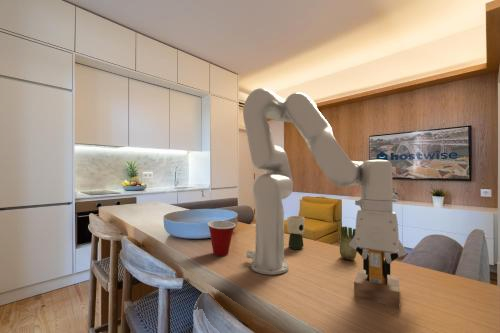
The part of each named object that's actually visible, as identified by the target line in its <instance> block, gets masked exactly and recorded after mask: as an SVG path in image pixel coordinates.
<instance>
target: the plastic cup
mask: <svg viewBox="0 0 500 333" xmlns="http://www.w3.org/2000/svg"><path fill="white" fill-rule="evenodd" d="M207 226H208V228H209V233H210V243H211V246H212V254H213V255H214V256H216V257H225V256H228V255H229V253H230V246H231V241H232V236H233V231H234V228H235V227H236V223H235V222H232V221H227V220H212V221H209V222H207Z"/></svg>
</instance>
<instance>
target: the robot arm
mask: <svg viewBox="0 0 500 333" xmlns="http://www.w3.org/2000/svg"><path fill="white" fill-rule="evenodd" d="M242 117H243V122H244V126H245V131H246V135H247V142H248V148H249V152H250V158H251V163H252V164H253V166H254V168H256V169H257V170H261V171H266V173H263V174H261V175H259V176H258V177H257V178H256V179H255V181H254V183H253V189H252V190H253V198H254V205H255V250H252V249H248V250H247V251H246V255H245V257H246V258H248V259H252V261H251V262H250V268H251V270H252V271H254V272H255V273H258V274H262V275H270V276H272V275H273V276H274V275H281V274H282V275H283V274H284V273H286V272H287V271H288V270H289V263H288V262H287V261H285V211H284V206H283V200H284V199H288V197H290V195H291V194H292V193H293V191H294V190H293V189H294V181H293V180H294V179H293V176H292V172H291V167H290V163H289V162H290V161H289V158H288V154H287V153H286V151H285V150H284V149H283V148H282V147H281V146H280V145H276V144H275V142H274V140H273V139H274V138H273V136H272V130H271V127H270V125H269V122H268V120H267V119H269V120H272V121H273V120H274V121H277V122H285V123H292V124H293V126H294V127H295V128H296V130H297V131H298V133H299V134H300V135H301V137H302V138H303V140H304V141H305V143H306V144H307V148H308V149H309V151H310V153H311V155H312V157H313V158H314V160H315V161H316V164H317V165H318V167H319V168H320V169H321V171H322V172H323V174H324V175H325V176H326V178H327V179H328V180H329V182H331V183H332V184H333V185H335V186H336V187H339V188H341V187H342V188H345V187H350V186H360V199H358V200H357V199H356V200H355V201H354V202H355V203H354V204H355V206H359V208H360V209H359V208H358V209H357V213H356V219H355V227H354V229H355V236H354V238H353V239H352V240H351V242H350V243H349V245H350V246H351V247H352V248H353V249H355V250H356V251H357V253H358V254H359V256H360V257H361V258H362V261H363V262H362V266H363V268H362V270H366V275H369V253H368V250H369V249H370V250H376V251H383V252H384V278H385V279H387V275H391V264H392V262H394V261H395V260H397V259H398V258H400V257H403V256H406V255H408V252H407V249H406V248H405V247H404V245H403V244H402V241H400V237H399V236H400V235H399V224H398V217H397V213H396V212H395V211H393V165H392V162H391V161H389V160H386V159H369V160H364V161H355V160H351V159H350V158H349V156H348V155H347V154H346V152H345V151H344V149H343V148H342V147H341V145H340V144H339V143H338V141H337V140H336V138H335V136H334V133H333V128H332V126H331V125H330V123H329V122H328V121H327V119H325V118H326V117H324V116H323V114H322V113H321V112H320V111H319V109H318V106H317V104H316V102H315V101H314V100H313V99H312V98H311V97H310V96H308V95H307V94H306V93H303V92H299V91H298V92H293V93H291V94H289V95H288V96H287V97H286V98H283V97H281V96H280V95H278V94H277V93H275V92H274V91H272V90H269V89H268V88H263V87H261V88H260V87H259V88H256V89H254V90H253V91H251V92H250V93H249V95H248V96H247V98H246V99H245V102H244V105H243V108H242Z"/></svg>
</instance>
